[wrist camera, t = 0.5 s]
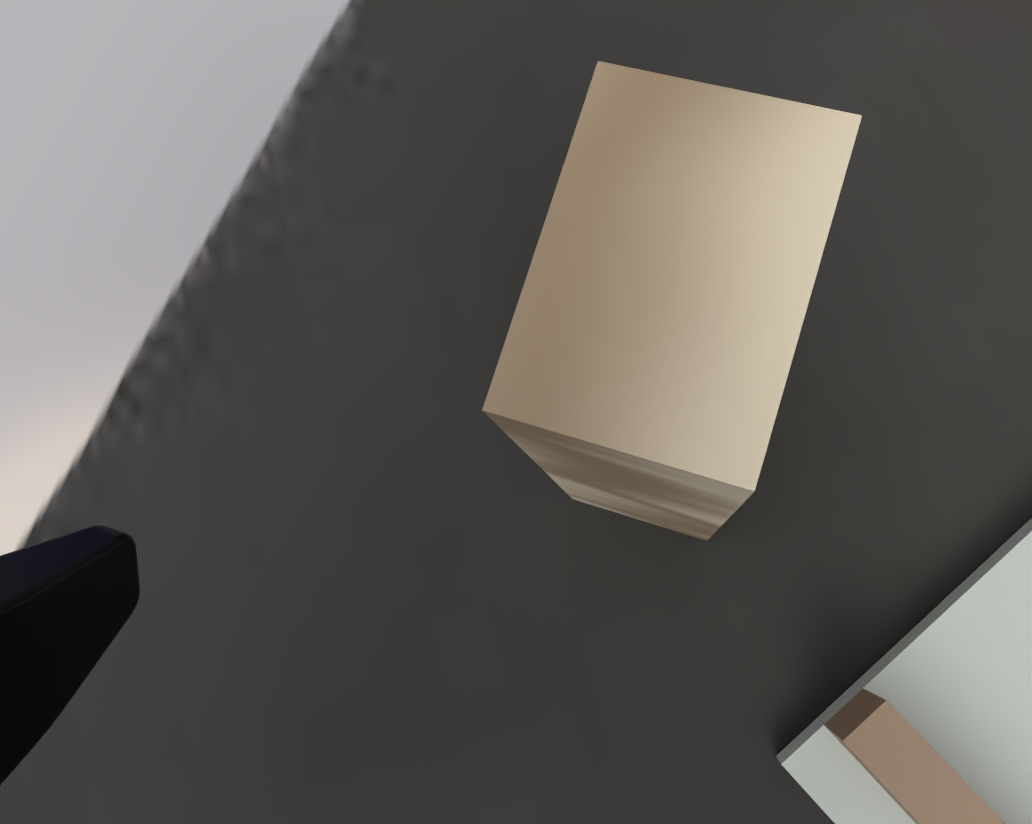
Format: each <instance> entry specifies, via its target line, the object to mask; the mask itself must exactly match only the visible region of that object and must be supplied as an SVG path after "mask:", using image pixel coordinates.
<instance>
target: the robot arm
mask: <svg viewBox="0 0 1032 824" xmlns="http://www.w3.org/2000/svg"><path fill="white" fill-rule="evenodd" d="M139 593H140V586H139V575H138V564H137V554H136V545H135V542H134V540H133V539H132V537H131V536H129V535H128V534H126V533H123V532H120V531H117V530H114V529H112V528H109V527H106V526H101V525H95V526H91V527H87V528H84V529H81V530H78V531H75V532H72V533H69V534H66V535H63V536H60V537H57V538H54V539H50V540H47V541H44V542H41V543H38V544H35V545H32V546H29V547H26V548H23V549H20V550H17V551H14V552H11V553H8V554H5V555H1V556H0V785H1V784H2V783H3V781H4V780H5V779H6V778H7V777H8V776H9V775H10V773H11V772H12V771H13V770H14V769H15V768H16V766H17V765H18V764H19V763H20V762H21V761H22V760H23V758H24V757H25V756H26V755H27V754H28V753H29V752H30V750H31V749H32V748H33V747H34V746H35V745H36V743H37V742H38V741H39V740H40V739H41V737H42V736H43V735H44V734H45V733H46V731H47V730H48V729H49V728H50V727H51V725H52V724H53V723H54V721H55V720H56V719H57V717H58V716H59V715H60V713H61V712H62V711H63V709H64V708H65V707H66V705H67V704H68V703H69V701H70V700H71V698H72V697H73V696H74V694H75V693H76V691H77V690H78V689H79V687H80V686H81V684H82V683H83V682H84V680H85V679H86V677H87V676H88V674H89V673H90V672H91V670H92V669H93V667H94V666H95V665H96V663H97V662H98V660H99V659H100V658H101V656H102V655H103V653H104V652H105V651H106V649H107V648H108V646H109V645H110V644H111V642H112V641H113V639H114V638H115V637H116V635H117V634H118V632H119V631H120V630H121V628H122V627H123V625H124V624H125V622H126V621H127V620H128V618H129V617H130V615H131V614H132V612H133V611H134V609H135V607H136V605H137V602H138V599H139Z"/></svg>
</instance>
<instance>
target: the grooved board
mask: <svg viewBox="0 0 1032 824" xmlns="http://www.w3.org/2000/svg"><path fill="white" fill-rule="evenodd" d="M776 757H777V759H778V760H779V762H780V763H781V765H782V766H783V767H784V768H785V769H786V770H787V771H788V772H789V773H790V774H791V776H792V777H793V778H794V779H795V780H796V781H797V782H798V783H799V784H800V785H801V787H802V788H803V789H804V790H805V791H806V792H807V793H808V794H809V795H810V797H811V798H812V799H813V800H814V801H815V802H816V803H817V804H818V805H819V806H820V808H821V809H822V810H823V811H824V812H825V813H826V814H827V815H828V816H829V818H830V819H831V820H832V821H833V822H834V823H835V824H1032V518H1031V519H1030V520H1029V521H1028V522H1027V523H1026V524H1024V525H1023V526H1022V527H1021V528H1020V529H1019V530H1018V531H1017V532H1016V533H1015V534H1014V535H1013V536H1012V537H1011V538H1009V539H1008V540H1007V541H1006V542H1005V543H1004V544H1003V545H1002V546H1001V547H1000V548H999V549H998V550H997V551H996V552H994V553H993V554H992V555H991V556H990V557H989V558H988V559H987V560H986V561H985V562H984V563H983V564H982V565H980V566H979V567H978V568H977V569H976V570H975V571H974V572H973V573H972V574H971V575H970V576H969V577H968V578H967V579H965V580H964V581H963V582H962V583H961V584H960V585H959V586H958V587H957V588H956V589H955V590H954V591H953V592H952V593H950V594H949V595H948V596H947V597H946V598H945V599H944V600H943V601H942V602H941V603H940V604H939V605H938V606H936V607H935V608H934V609H933V610H932V611H931V612H930V613H929V614H928V615H927V616H926V617H925V618H924V619H923V620H921V621H920V622H919V623H918V624H917V625H916V626H915V627H914V628H913V629H912V630H911V631H910V632H909V633H908V634H906V635H905V636H904V637H903V638H902V639H901V640H900V641H899V642H898V643H897V644H896V645H895V646H894V647H892V648H891V649H890V650H889V651H888V652H887V653H886V654H885V655H884V656H883V657H882V658H881V659H880V660H879V661H877V662H876V663H875V664H874V665H873V666H872V667H871V668H870V669H869V670H868V671H867V672H866V673H865V674H864V675H862V676H861V677H860V678H859V679H858V680H857V681H856V682H855V683H854V684H853V685H852V686H851V687H850V688H848V689H847V690H846V691H845V692H844V693H843V694H842V695H841V696H840V697H839V698H838V699H837V700H836V701H835V702H833V703H832V704H831V705H830V706H829V707H828V708H827V709H826V710H825V711H824V712H823V713H822V714H821V715H820V716H818V717H817V718H816V719H815V720H814V721H813V722H812V723H811V724H810V725H809V726H808V727H807V728H806V729H804V730H803V731H802V732H801V733H800V734H799V735H798V736H797V737H796V738H795V739H794V740H793V741H792V742H791V743H789V744H788V745H787V746H786V747H785V748H784V749H783V750H782V751H781V752H780V753H779V754H778V755H777V756H776Z"/></svg>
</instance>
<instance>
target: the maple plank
mask: <svg viewBox="0 0 1032 824" xmlns="http://www.w3.org/2000/svg"><path fill="white" fill-rule="evenodd" d="M861 117H862V115H857V114H852V113H847V112H842V111H837V110H833V109H828V108H823V107H818V106H813V105H808V104H804V103H799V102H794V101H789V100H784V99H779V98H775V97H770V96H765V95H760V94H755V93H750V92H746V91H741V90H736V89H731V88H726V87H721V86H717V85H712V84H707V83H702V82H697V81H692V80H688V79H683V78H678V77H673V76H668V75H663V74H658V73H654V72H649V71H644V70H639V69H634V68H629V67H625V66H620V65H615V64H610V63H605V62H600V61H598V63H597V66H596V69H595V72H594V75H593V78H592V81H591V84H590V87H589V90H588V93H587V96H586V99H585V102H584V105H583V108H582V111H581V114H580V117H579V120H578V123H577V126H576V129H575V132H574V135H573V138H572V141H571V144H570V147H569V150H568V153H567V156H566V159H565V162H564V165H563V168H562V171H561V174H560V177H559V180H558V183H557V186H556V189H555V192H554V195H553V198H552V201H551V205H550V208H549V211H548V214H547V217H546V220H545V223H544V226H543V229H542V232H541V235H540V238H539V241H538V244H537V247H536V250H535V253H534V256H533V259H532V262H531V265H530V268H529V271H528V274H527V277H526V280H525V283H524V286H523V289H522V292H521V295H520V298H519V301H518V304H517V307H516V310H515V313H514V316H513V319H512V322H511V325H510V328H509V331H508V334H507V337H506V340H505V343H504V346H503V349H502V352H501V355H500V358H499V361H498V364H497V367H496V370H495V373H494V376H493V379H492V382H491V385H490V388H489V392H488V395H487V398H486V401H485V404H484V407H483V410H482V411H483V412H485V413H486V414H487V415H488V416H489V417H490V418H491V419H492V420H493V421H494V422H495V423H496V424H497V425H498V426H499V427H500V428H501V429H502V430H503V431H504V432H505V433H506V434H507V435H508V436H509V437H510V438H511V439H512V440H513V441H514V442H515V443H516V444H517V445H518V446H519V447H520V448H521V449H522V450H523V451H524V452H525V453H526V454H527V455H528V456H529V457H530V458H531V459H532V460H533V461H534V462H535V463H536V464H537V465H539V466H540V467H541V468H542V469H543V470H544V471H545V472H546V473H547V474H548V475H549V476H550V477H551V478H552V479H553V480H554V481H555V482H556V483H557V484H558V485H559V486H560V487H561V488H562V489H563V490H564V491H565V492H566V493H567V494H568V495H569V496H570V497H571V498H572V499H574V500H578V501H581V502H584V503H587V504H590V505H594V506H597V507H600V508H603V509H606V510H610V511H613V512H616V513H619V514H622V515H626V516H629V517H632V518H635V519H638V520H642V521H645V522H648V523H651V524H654V525H658V526H661V527H664V528H667V529H670V530H674V531H677V532H680V533H683V534H686V535H690V536H693V537H696V538H699V539H702V540H706V541H707V540H708V539H709V538H710V537H711V536H712V535H713V534H714V533H715V532H716V531H717V530H718V529H719V528H720V527H721V526H722V525H723V524H724V523H725V522H726V521H727V519H728V518H729V517H730V516H731V515H732V514H733V513H734V512H735V511H736V510H737V509H738V508H739V507H740V506H741V505H742V504H743V503H744V502H745V501H746V500H747V499H748V498H749V497H750V496H751V495H752V494H753V493H754V492H755V488H756V485H757V481H758V478H759V474H760V471H761V467H762V464H763V460H764V457H765V453H766V450H767V446H768V443H769V439H770V436H771V432H772V429H773V425H774V422H775V418H776V415H777V411H778V408H779V404H780V401H781V397H782V394H783V390H784V387H785V383H786V380H787V376H788V373H789V369H790V366H791V362H792V359H793V355H794V352H795V348H796V345H797V341H798V338H799V334H800V331H801V327H802V324H803V320H804V317H805V313H806V310H807V306H808V303H809V299H810V296H811V292H812V289H813V285H814V282H815V278H816V275H817V271H818V268H819V264H820V261H821V257H822V254H823V250H824V247H825V243H826V240H827V236H828V233H829V229H830V226H831V222H832V219H833V215H834V212H835V208H836V205H837V201H838V198H839V194H840V191H841V187H842V184H843V180H844V177H845V173H846V170H847V166H848V163H849V159H850V156H851V152H852V149H853V145H854V142H855V138H856V135H857V131H858V128H859V124H860V121H861Z"/></svg>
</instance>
